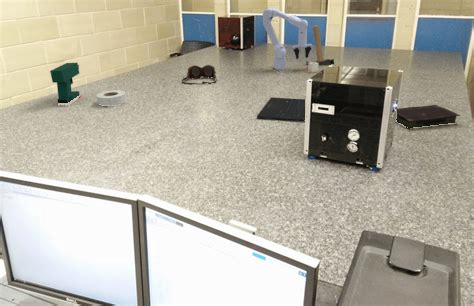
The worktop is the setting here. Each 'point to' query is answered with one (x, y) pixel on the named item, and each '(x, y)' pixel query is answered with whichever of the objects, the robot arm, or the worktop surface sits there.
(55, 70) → the power tool
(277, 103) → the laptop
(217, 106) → the worktop surface
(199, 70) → the goggles
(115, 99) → the roll of tape
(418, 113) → the diary
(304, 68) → the brown rectangular board
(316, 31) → the hammer
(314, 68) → the hollow square socket
